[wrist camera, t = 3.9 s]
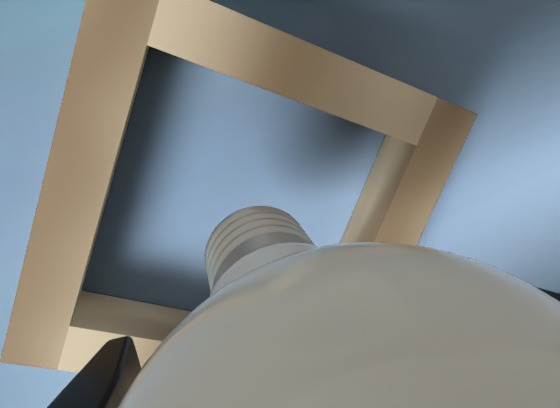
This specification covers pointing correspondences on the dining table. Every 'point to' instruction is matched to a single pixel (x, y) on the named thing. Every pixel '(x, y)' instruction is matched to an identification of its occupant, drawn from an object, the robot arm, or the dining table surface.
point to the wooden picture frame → (110, 134)
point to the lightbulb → (351, 328)
